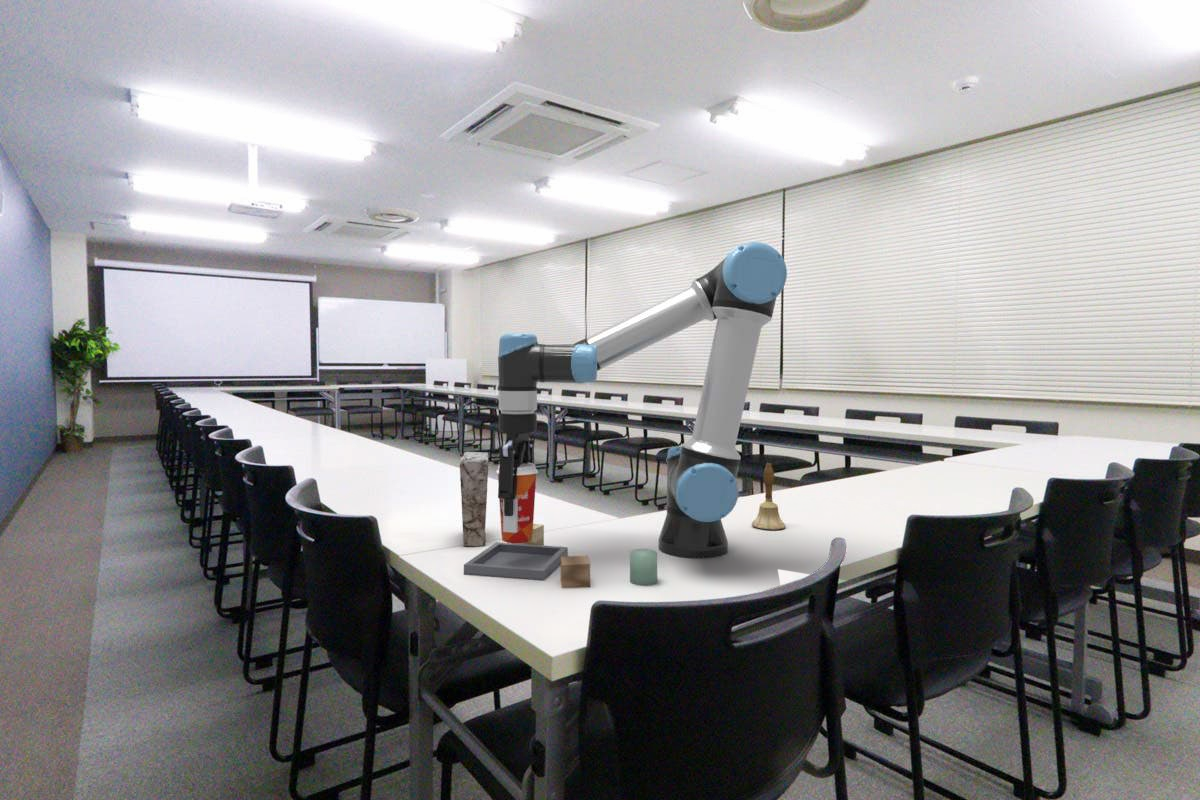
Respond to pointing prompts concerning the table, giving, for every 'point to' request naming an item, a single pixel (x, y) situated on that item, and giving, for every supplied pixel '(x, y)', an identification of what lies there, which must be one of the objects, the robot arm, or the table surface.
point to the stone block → (474, 497)
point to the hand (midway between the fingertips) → (517, 526)
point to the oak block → (536, 535)
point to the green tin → (643, 567)
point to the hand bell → (768, 505)
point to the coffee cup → (522, 504)
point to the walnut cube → (575, 571)
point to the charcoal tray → (516, 561)
